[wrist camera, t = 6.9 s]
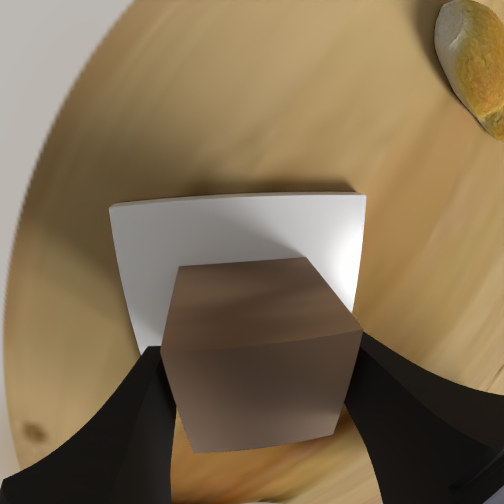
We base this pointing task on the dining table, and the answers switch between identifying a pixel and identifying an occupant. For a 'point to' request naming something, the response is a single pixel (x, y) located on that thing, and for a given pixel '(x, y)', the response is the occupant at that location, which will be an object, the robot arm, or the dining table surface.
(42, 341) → the dining table surface
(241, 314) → the walnut block
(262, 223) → the grey tile
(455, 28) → the bread roll
